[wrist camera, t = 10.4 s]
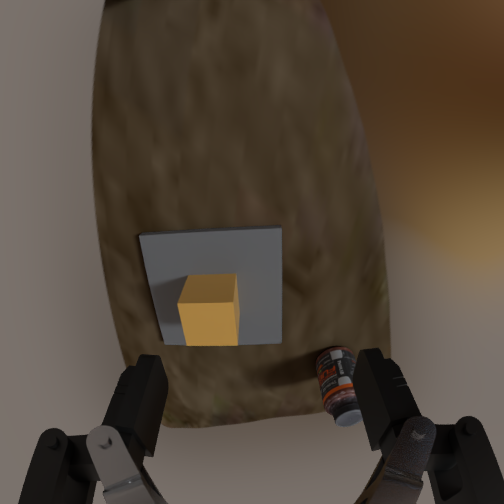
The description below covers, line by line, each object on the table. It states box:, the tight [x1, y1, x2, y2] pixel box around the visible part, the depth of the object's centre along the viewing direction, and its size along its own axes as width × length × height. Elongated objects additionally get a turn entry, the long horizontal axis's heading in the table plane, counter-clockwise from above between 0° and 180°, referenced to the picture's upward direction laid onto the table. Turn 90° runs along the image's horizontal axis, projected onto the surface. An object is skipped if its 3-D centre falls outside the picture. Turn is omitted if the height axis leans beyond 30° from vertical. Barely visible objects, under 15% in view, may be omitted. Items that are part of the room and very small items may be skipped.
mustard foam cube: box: [177, 273, 240, 346], centre depth 32 cm, size 6×6×6 cm
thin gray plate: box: [139, 225, 282, 345], centre depth 34 cm, size 16×16×5 cm
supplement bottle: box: [316, 347, 363, 427], centre depth 36 cm, size 6×6×11 cm
